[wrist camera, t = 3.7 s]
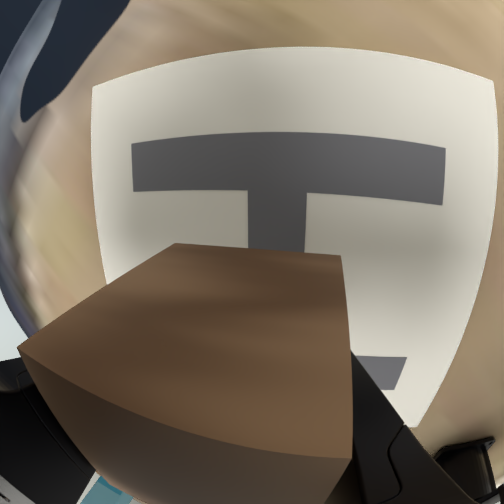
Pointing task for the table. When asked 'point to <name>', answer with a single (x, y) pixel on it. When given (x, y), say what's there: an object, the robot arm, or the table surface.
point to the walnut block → (207, 376)
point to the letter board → (314, 184)
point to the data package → (106, 494)
